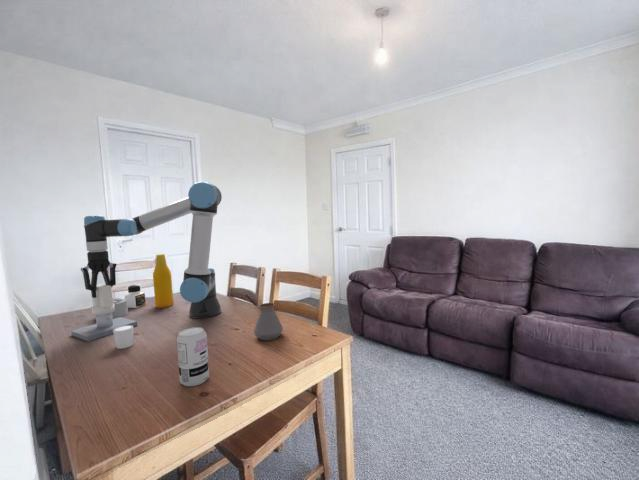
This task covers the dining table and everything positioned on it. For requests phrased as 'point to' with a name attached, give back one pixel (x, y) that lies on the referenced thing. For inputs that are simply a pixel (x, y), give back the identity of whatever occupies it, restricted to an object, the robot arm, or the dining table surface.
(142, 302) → the medicine bottle
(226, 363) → the dining table surface
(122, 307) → the lumpy-topped squat cylinder
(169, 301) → the beer bottle
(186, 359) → the supplement can
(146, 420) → the dining table surface
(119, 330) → the shot glass
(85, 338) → the post plinth
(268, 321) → the coffee pot
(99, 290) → the white round-based slab
